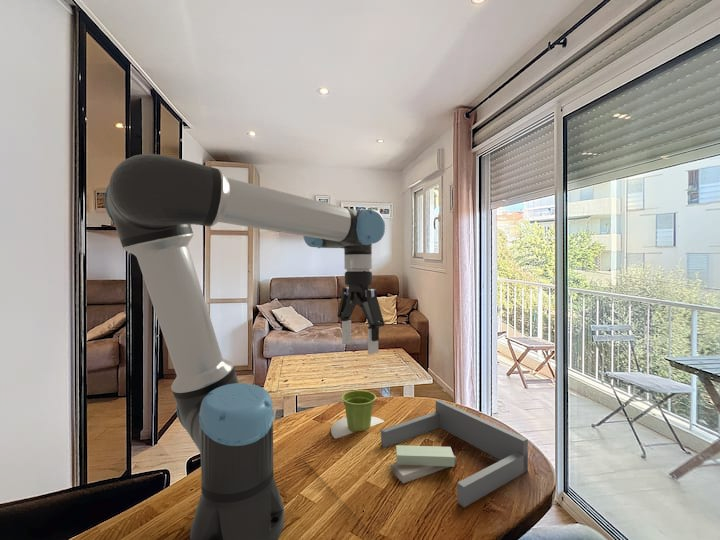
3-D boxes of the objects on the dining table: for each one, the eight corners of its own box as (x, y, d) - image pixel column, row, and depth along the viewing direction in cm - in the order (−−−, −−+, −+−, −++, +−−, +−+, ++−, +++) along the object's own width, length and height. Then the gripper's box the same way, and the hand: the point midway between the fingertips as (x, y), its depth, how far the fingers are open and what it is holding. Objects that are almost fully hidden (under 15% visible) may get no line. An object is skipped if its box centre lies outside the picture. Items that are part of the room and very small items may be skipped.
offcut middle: (391, 473, 71) (391, 463, 71) (442, 455, 78) (442, 447, 78) (403, 485, 67) (402, 475, 67) (456, 466, 74) (456, 457, 74)
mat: (349, 452, 81) (349, 450, 81) (321, 426, 95) (321, 424, 95) (401, 434, 90) (401, 432, 90) (368, 412, 103) (368, 410, 103)
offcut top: (396, 454, 75) (396, 445, 75) (450, 455, 74) (450, 446, 74) (396, 464, 71) (396, 455, 71) (454, 466, 70) (454, 457, 70)
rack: (464, 514, 60) (463, 470, 60) (381, 450, 82) (380, 417, 82) (527, 476, 71) (527, 439, 71) (439, 428, 93) (439, 399, 93)
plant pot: (383, 428, 92) (383, 397, 91) (356, 440, 86) (356, 406, 85) (361, 417, 99) (361, 387, 99) (335, 427, 93) (335, 396, 93)
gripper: (397, 270, 83) (398, 355, 83) (347, 270, 104) (348, 338, 104) (372, 271, 79) (373, 360, 79) (325, 270, 100) (326, 341, 100)
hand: (359, 348), depth 92 cm, fingers open, 13 cm apart
